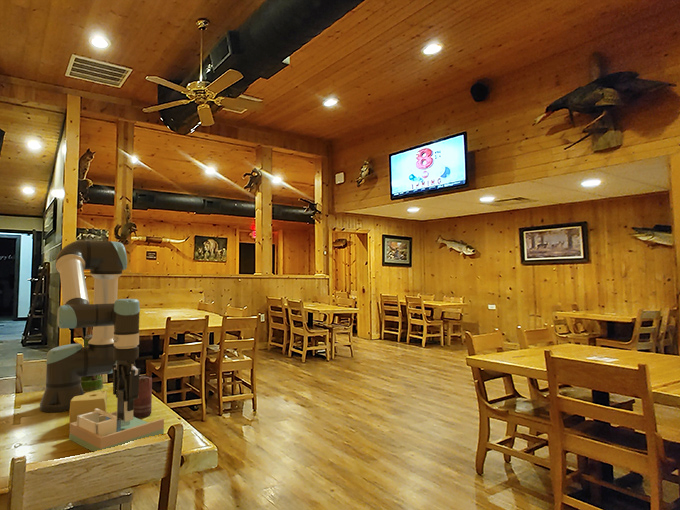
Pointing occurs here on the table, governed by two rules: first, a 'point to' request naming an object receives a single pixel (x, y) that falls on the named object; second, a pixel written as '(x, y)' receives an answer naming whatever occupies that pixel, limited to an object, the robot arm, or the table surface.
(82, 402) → the cheese
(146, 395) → the can
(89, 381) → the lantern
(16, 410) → the table surface
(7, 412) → the table surface
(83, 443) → the pinkish brown tray
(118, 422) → the block
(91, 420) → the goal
